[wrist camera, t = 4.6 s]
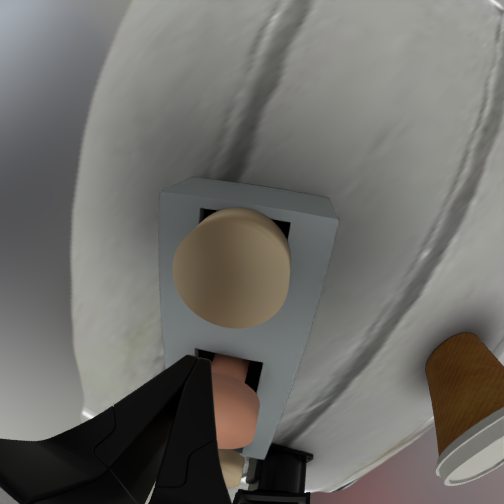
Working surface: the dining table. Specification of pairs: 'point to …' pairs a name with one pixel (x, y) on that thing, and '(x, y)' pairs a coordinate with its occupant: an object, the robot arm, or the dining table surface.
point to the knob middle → (233, 402)
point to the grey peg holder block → (277, 327)
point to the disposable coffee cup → (466, 408)
